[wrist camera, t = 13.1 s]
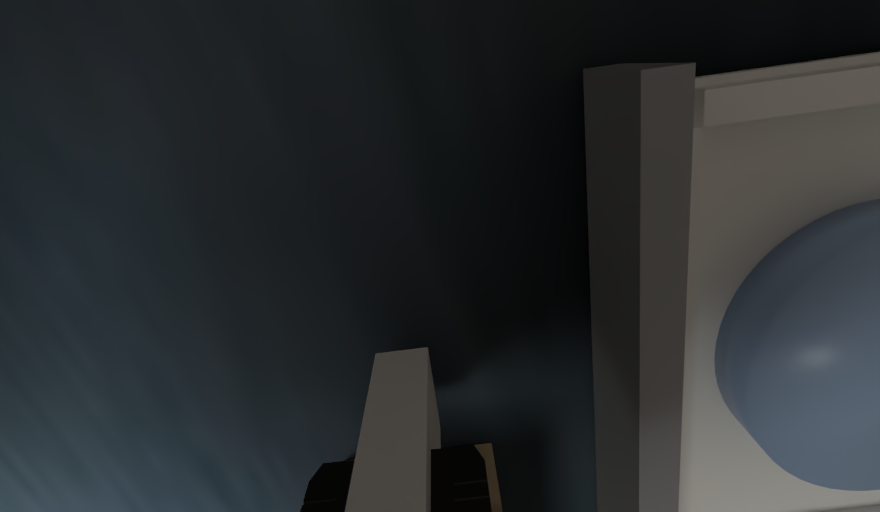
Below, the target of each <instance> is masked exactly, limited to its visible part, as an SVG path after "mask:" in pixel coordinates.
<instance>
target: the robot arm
mask: <svg viewBox="0 0 880 512" xmlns="http://www.w3.org/2000/svg"><path fill="white" fill-rule="evenodd" d="M300 512H492V509H491V502H490V494H489V487H488V480H487V472H486V465H485V459H484V458H483V457H482V455H481V454H480V453H479V451H478V450H477V448H476V447H475V446H474V445H465V446H457V447H448V448H441V432H440V421H439V414H438V408H437V402H436V395H435V389H434V383H433V376H432V370H431V364H430V357H429V351H428V347H425V348H416V349H408V350H400V351H392V352H384V353H376V354H375V359H374V364H373V369H372V374H371V379H370V384H369V389H368V395H367V400H366V405H365V410H364V415H363V420H362V425H361V431H360V436H359V441H358V446H357V451H356V456H355V460H349V461H341V462H332V463H323V464H322V466H321V467H320V468H319V469H318V471H317V472H316V473H315V475H314V476H313V477H312V479H311V480H310V481H309V484H308V488H307V491H306V494H305V498H304V505H302V508H301V511H300Z"/></svg>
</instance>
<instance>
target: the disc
mask: <svg viewBox="0 0 880 512" xmlns="http://www.w3.org/2000/svg"><path fill="white" fill-rule="evenodd" d="M714 359H715V375H716V379H717V384H718V388H719V391H720V393H721V395H722V398H723V400H724V402H725V404H726V405H727V407H728V409H729V410H730V412H731V413H732V414H733V416H734V417H735V418H736V419H737V420H738V421H739V422H740V424H741V425H742V426H743V427H744V428H745V429H746V431H747V432H748V433H749V434H750V435H751V436H752V438H753V439H754V440H755V441H756V442H757V443H758V444H759V446H760V447H761V448H762V449H763V450H764V451H765V453H766V454H767V455H768V456H769V457H770V458H771V459H772V460H773V461H774V462H775V463H776V464H777V465H778V466H780V467H781V468H782V469H784V470H785V471H786V472H788V473H790V474H791V475H793V476H795V477H797V478H799V479H801V480H803V481H806V482H809V483H811V484H814V485H818V486H822V487H826V488H830V489H838V490H847V491H870V490H880V199H876V200H872V201H867V202H863V203H858V204H854V205H852V206H849V207H846V208H843V209H840V210H837V211H834V212H832V213H830V214H828V215H826V216H824V217H821V218H819V219H817V220H815V221H813V222H811V223H810V224H808V225H806V226H805V227H803V228H801V229H800V230H798V231H796V232H795V233H793V234H792V235H791V236H789V237H788V238H787V239H785V240H784V241H783V242H781V243H780V244H779V245H777V246H776V247H775V248H774V249H773V250H772V251H771V252H770V253H769V254H768V255H766V256H765V257H764V258H763V259H762V260H761V261H760V262H759V263H758V265H757V266H756V267H755V268H754V269H753V270H752V271H751V272H750V274H749V275H748V276H747V277H746V279H745V280H744V282H743V283H742V284H741V286H740V287H739V289H738V290H737V291H736V293H735V295H734V297H733V299H732V300H731V302H730V304H729V306H728V308H727V310H726V312H725V315H724V317H723V320H722V322H721V325H720V329H719V333H718V337H717V341H716V348H715V358H714Z"/></svg>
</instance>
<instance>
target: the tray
mask: <svg viewBox="0 0 880 512" xmlns="http://www.w3.org/2000/svg"><path fill="white" fill-rule="evenodd" d="M695 71H696V63H622V64H615V65H608V66H601V67H593V68H586V69H583V86H584V117H585V147H586V178H587V208H588V238H589V269H590V299H591V329H592V360H593V390H594V421H595V451H596V481H597V512H880V490H870V491H847V490H838V489H830V488H826V487H822V486H818V485H814V484H811V483H809V482H806V481H803V480H801V479H799V478H797V477H795V476H793V475H791V474H790V473H788V472H786V471H785V470H784V469H782V468H781V467H780V466H778V465H777V464H776V463H775V462H774V461H773V460H772V459H771V458H770V457H769V456H768V455H767V454H766V453H765V451H764V450H763V449H762V448H761V447H760V446H759V444H758V443H757V442H756V441H755V440H754V439H753V438H752V436H751V435H750V434H749V433H748V432H747V431H746V429H745V428H744V427H743V426H742V425H741V424H740V422H739V421H738V420H737V419H736V418H735V417H734V416H733V414H732V413H731V412H730V410H729V409H728V407H727V405H726V404H725V402H724V400H723V398H722V395H721V393H720V391H719V388H718V384H717V379H716V375H715V359H714V358H715V348H716V341H717V337H718V333H719V329H720V325H721V322H722V320H723V317H724V315H725V312H726V310H727V308H728V306H729V304H730V302H731V300H732V299H733V297H734V295H735V293H736V291H737V290H738V289H739V287H740V286H741V284H742V283H743V282H744V280H745V279H746V277H747V276H748V275H749V274H750V272H751V271H752V270H753V269H754V268H755V267H756V266H757V265H758V263H759V262H760V261H761V260H762V259H763V258H764V257H765V256H766V255H768V254H769V253H770V252H771V251H772V250H773V249H774V248H775V247H776V246H777V245H779V244H780V243H781V242H783V241H784V240H785V239H787V238H788V237H789V236H791V235H792V234H793V233H795V232H796V231H798V230H800V229H801V228H803V227H805V226H806V225H808V224H810V223H811V222H813V221H815V220H817V219H819V218H821V217H824V216H826V215H828V214H830V213H832V212H834V211H837V210H840V209H843V208H846V207H849V206H852V205H854V204H858V203H863V202H867V201H872V200H876V199H880V51H879V52H871V53H864V54H857V55H850V56H842V57H835V58H828V59H821V60H814V61H806V62H799V63H792V64H785V65H777V66H770V67H763V68H756V69H749V70H741V71H734V72H727V73H720V74H712V75H705V76H698V77H695Z"/></svg>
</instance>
